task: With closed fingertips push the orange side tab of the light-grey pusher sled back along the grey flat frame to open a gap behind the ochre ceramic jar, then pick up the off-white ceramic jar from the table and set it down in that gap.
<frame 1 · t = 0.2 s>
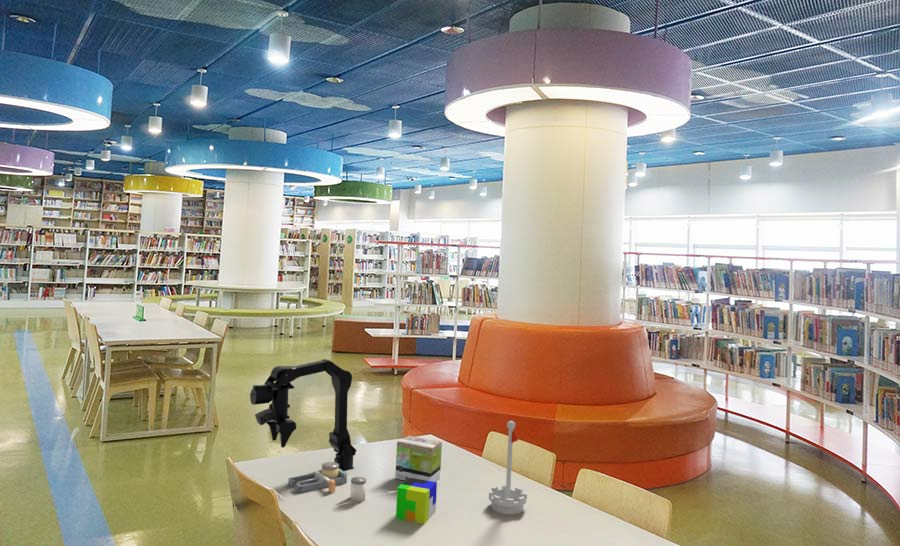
hand: (278, 443, 213), 14 cm above the table, fingers open, 9 cm apart
tea box: (417, 479, 223), on the table
white jar: (357, 499, 201), on the table
puzzle toy: (416, 515, 191), on the table
flag stand: (507, 508, 200), on the table
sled: (313, 483, 208), point 2 cm above the table, slide at 0.0 cm
ochre jar: (329, 480, 216), point 1 cm above the table, touching grey flat frame
grey flat frame: (317, 485, 213), on the table
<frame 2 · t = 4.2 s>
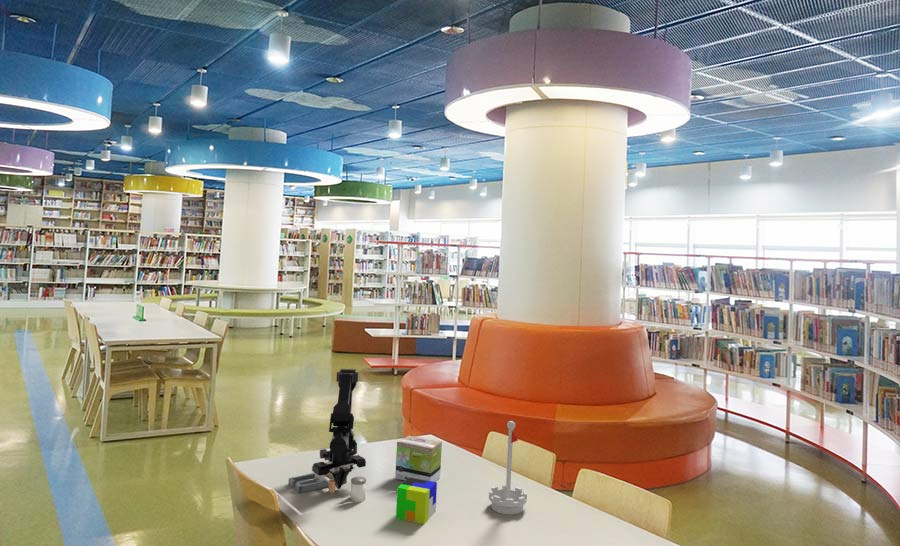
hand: (338, 488, 207), 1 cm above the table, fingers closed
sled: (313, 483, 208), point 2 cm above the table, slide at 0.0 cm, touching gripper
everything else where it was.
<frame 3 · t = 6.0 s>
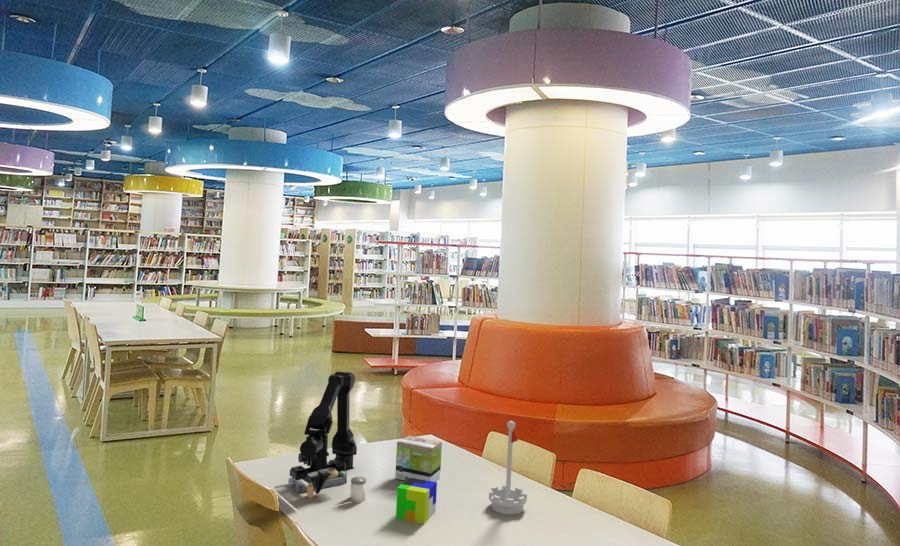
hand: (317, 493, 202), 1 cm above the table, fingers closed
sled: (291, 488, 203), point 2 cm above the table, slide at 8.3 cm, touching gripper
everything else where it was.
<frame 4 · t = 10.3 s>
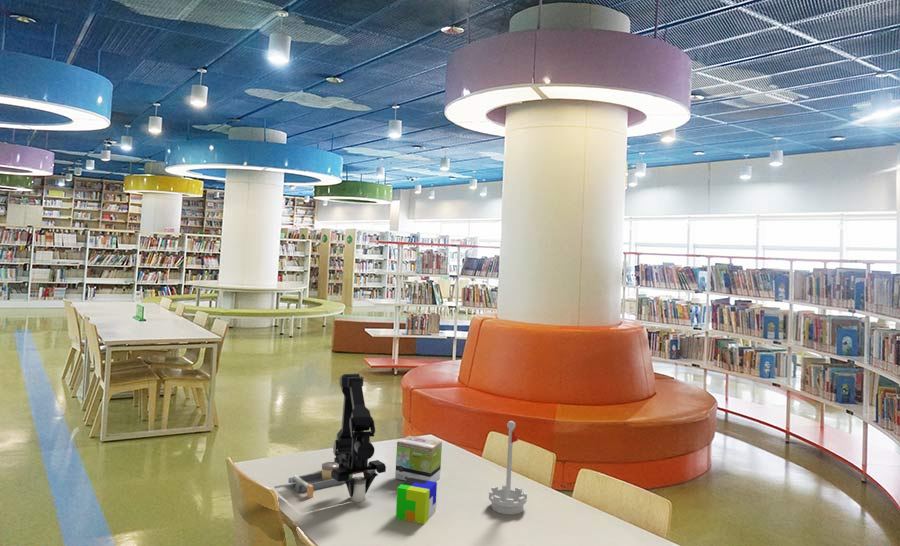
hand: (357, 495, 201), 2 cm above the table, fingers closed on white jar, 5 cm apart
white jar: (357, 499, 201), on the table, touching gripper
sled: (291, 488, 203), point 2 cm above the table, slide at 8.3 cm
everything else where it was.
when the fingers open (4 cm above the table, at t = 14.8 s): white jar drops 2 cm, resting on grey flat frame.
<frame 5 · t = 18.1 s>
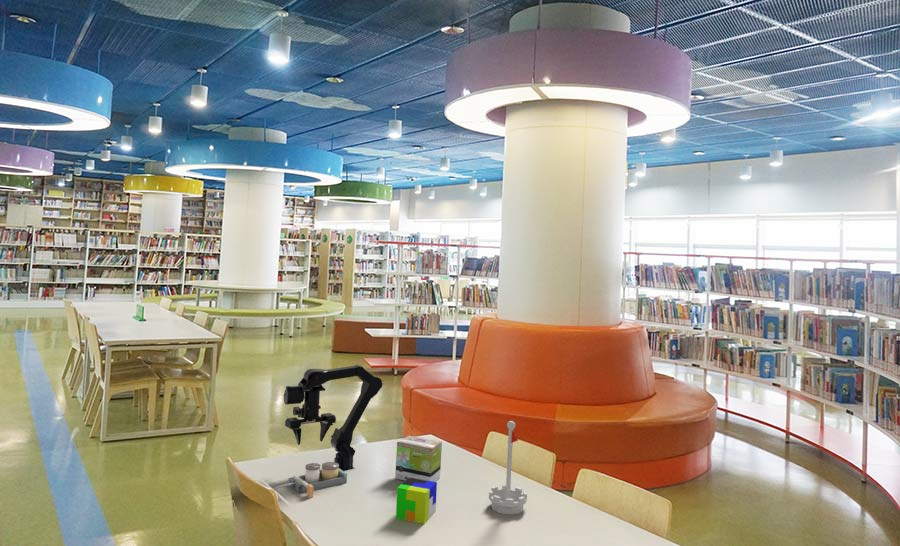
hand: (310, 442, 223), 12 cm above the table, fingers open, 9 cm apart
white jar: (312, 484, 211), point 1 cm above the table, touching grey flat frame
everything else where it was.
at the end: white jar inside the target area on the grey flat frame (0.5 cm from its centre), point 0.6 cm above the grey flat frame's base; white jar tilted 0°; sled slide at 8.3 cm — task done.
